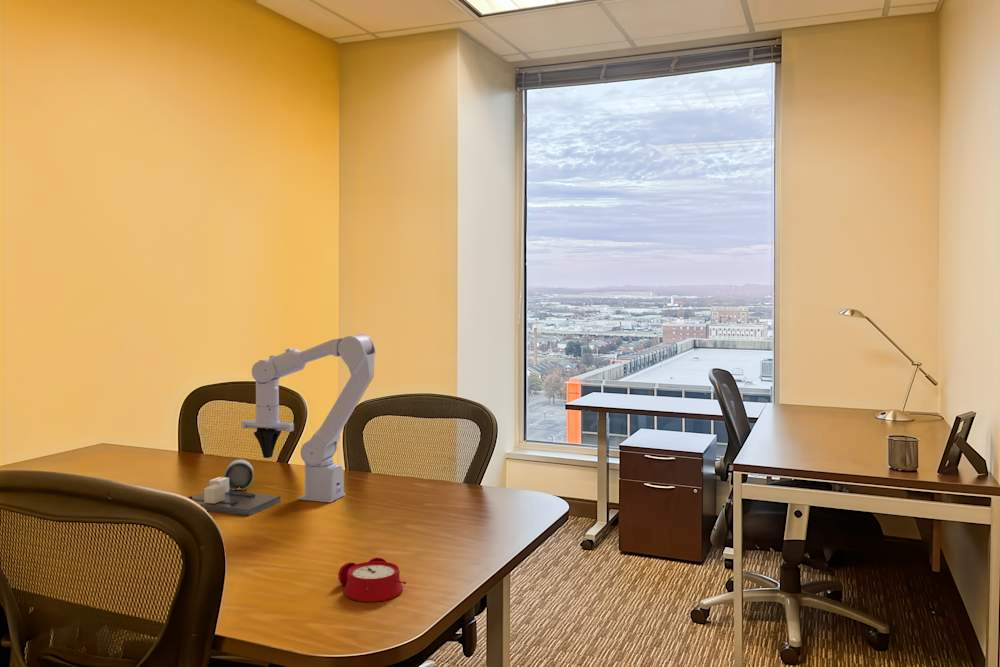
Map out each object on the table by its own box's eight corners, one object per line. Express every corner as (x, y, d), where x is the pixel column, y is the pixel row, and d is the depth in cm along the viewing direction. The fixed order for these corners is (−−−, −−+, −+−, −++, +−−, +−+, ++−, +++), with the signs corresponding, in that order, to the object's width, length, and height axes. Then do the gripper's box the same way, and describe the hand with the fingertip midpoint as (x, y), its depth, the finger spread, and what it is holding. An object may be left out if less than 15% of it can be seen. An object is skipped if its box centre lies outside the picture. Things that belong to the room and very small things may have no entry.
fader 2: (225, 499, 195) (224, 485, 194) (214, 503, 191) (214, 489, 191) (215, 498, 196) (214, 484, 195) (204, 502, 192) (204, 487, 192)
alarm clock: (358, 589, 133) (330, 545, 145) (355, 621, 134) (328, 575, 147) (414, 578, 138) (383, 536, 150) (411, 609, 140) (380, 565, 152)
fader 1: (229, 491, 203) (229, 477, 202) (219, 495, 199) (219, 480, 199) (219, 490, 204) (219, 476, 203) (209, 494, 200) (209, 480, 200)
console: (280, 501, 199) (280, 494, 199) (248, 515, 187) (248, 507, 187) (214, 494, 205) (214, 487, 205) (179, 507, 193) (179, 499, 193)
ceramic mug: (253, 482, 218) (252, 455, 218) (254, 490, 211) (253, 461, 210) (213, 486, 215) (212, 458, 215) (212, 493, 207) (211, 465, 207)
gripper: (300, 404, 206) (300, 456, 207) (253, 401, 211) (253, 452, 211) (284, 408, 200) (285, 461, 200) (236, 405, 204) (237, 457, 205)
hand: (267, 457), depth 205 cm, fingers closed
